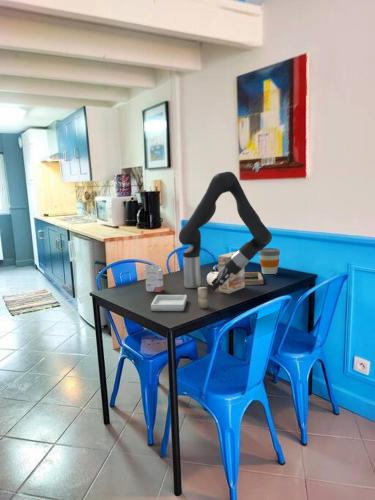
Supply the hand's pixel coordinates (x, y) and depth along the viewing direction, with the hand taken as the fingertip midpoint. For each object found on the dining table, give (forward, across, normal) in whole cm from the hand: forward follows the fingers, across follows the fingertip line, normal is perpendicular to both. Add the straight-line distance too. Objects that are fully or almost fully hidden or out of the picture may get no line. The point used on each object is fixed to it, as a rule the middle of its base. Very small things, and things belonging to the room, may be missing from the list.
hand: (212, 286), depth 173 cm
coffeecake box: (0, -29, +14) cm, 32 cm away
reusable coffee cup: (-17, -65, +31) cm, 74 cm away
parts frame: (-6, -48, +19) cm, 52 cm away
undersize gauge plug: (+10, 0, +4) cm, 11 cm away
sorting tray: (+21, -2, -8) cm, 23 cm away
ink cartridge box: (+30, -28, -16) cm, 44 cm away
